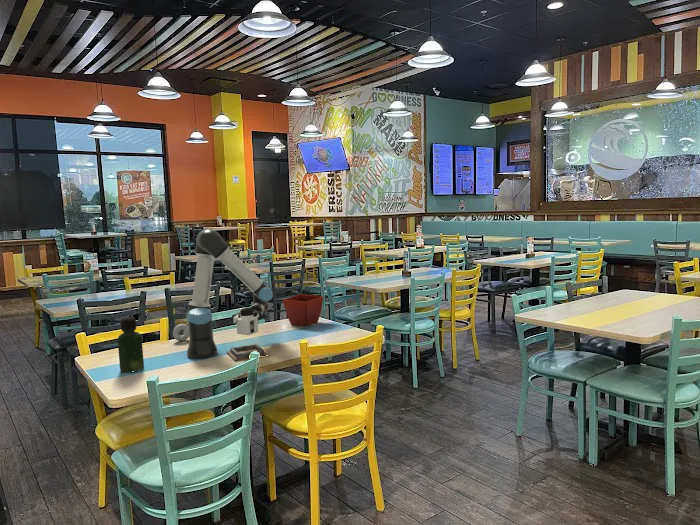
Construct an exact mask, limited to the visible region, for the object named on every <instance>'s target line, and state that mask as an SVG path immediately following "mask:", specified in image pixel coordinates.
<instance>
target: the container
mask: <svg viewBox="0 0 700 525" xmlns="http://www.w3.org/2000/svg"><path fill="white" fill-rule="evenodd" d="M239 312H240V317H241V318H239V319H237V322H236V333H237V334H238V335H242V336H243V335H245V336H251V335H253V334H256V333H259V321H258V322H257V323H255V317H253V308H251V306H249V307H242V308H240V310H239Z"/></svg>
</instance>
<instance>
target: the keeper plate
mask: <svg viewBox="0 0 700 525" xmlns="http://www.w3.org/2000/svg"><path fill="white" fill-rule="evenodd" d="M253 351H257V352H259V353H260V356H266V355H268V356H269V354H268V352H266V351H265V349H264V348H262V347H261V346H259V344H257V343H253V344H248V345H247V344H246V345H240V346H234V347H229V350H227V351H226V355H228V356H229V357H230V358H231V359H232V361H233V362H241V361H248V360H250V359H249V355H250V353H251V352H253ZM266 357H267V356H266Z"/></svg>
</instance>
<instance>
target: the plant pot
mask: <svg viewBox="0 0 700 525" xmlns="http://www.w3.org/2000/svg"><path fill="white" fill-rule="evenodd" d="M323 302H324V296H323V295H311V294H297V295H294V296H290V297H287V298H284V299H282V303H283V307H284V310H285V313H286V316H287V319H288V321H289V323H290V325H292V326H298V327H299V326H300V327H309V326H312V325H314V324H316V323H318V322H319V319H320V316H321V312H322V308H323V304H324V303H323Z"/></svg>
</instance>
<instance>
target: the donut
mask: <svg viewBox="0 0 700 525" xmlns="http://www.w3.org/2000/svg"><path fill="white" fill-rule="evenodd" d="M181 331H183V334H182V335H181V334H180V332H181ZM172 336H173V338H174V339H175V340H176V341H179V342H184V341H186V340H187V339H189V338H190V337H189V326H188V324H186V323H180V324H178V325H176V326H175V327H174V328H173V330H172Z"/></svg>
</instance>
